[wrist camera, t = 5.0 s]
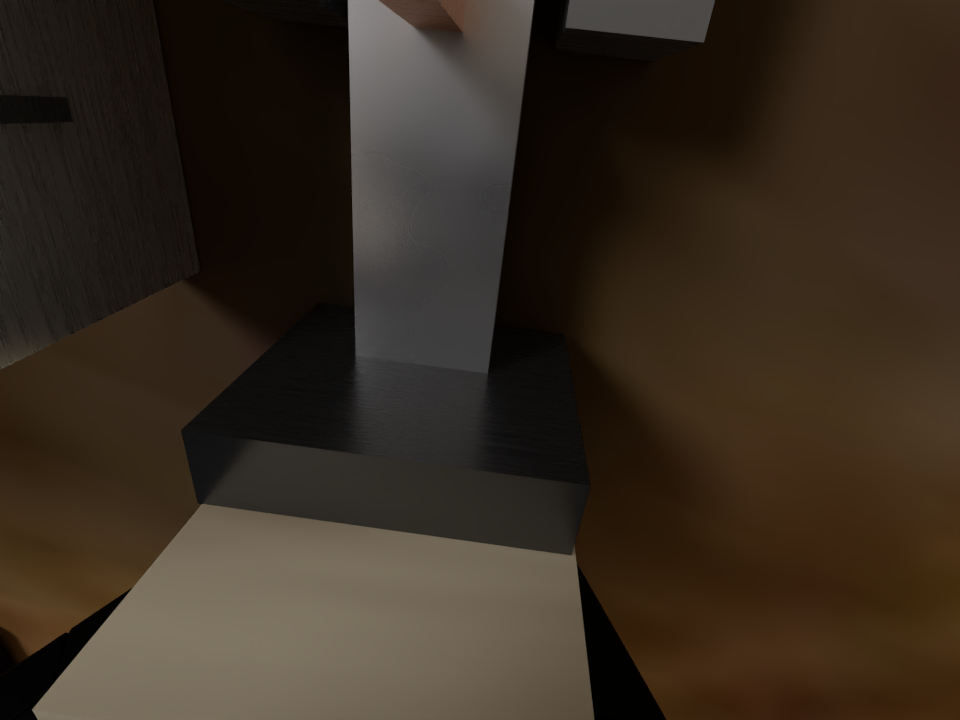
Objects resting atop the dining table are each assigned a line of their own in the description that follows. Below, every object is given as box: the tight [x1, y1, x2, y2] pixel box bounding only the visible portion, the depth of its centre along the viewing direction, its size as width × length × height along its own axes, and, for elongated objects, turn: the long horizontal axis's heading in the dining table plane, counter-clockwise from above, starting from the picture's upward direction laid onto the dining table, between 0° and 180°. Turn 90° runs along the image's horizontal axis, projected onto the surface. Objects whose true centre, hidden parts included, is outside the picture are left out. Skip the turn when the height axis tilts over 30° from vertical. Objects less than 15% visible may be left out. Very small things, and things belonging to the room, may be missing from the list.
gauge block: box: [32, 504, 594, 720], centre depth 8 cm, size 5×5×6 cm
